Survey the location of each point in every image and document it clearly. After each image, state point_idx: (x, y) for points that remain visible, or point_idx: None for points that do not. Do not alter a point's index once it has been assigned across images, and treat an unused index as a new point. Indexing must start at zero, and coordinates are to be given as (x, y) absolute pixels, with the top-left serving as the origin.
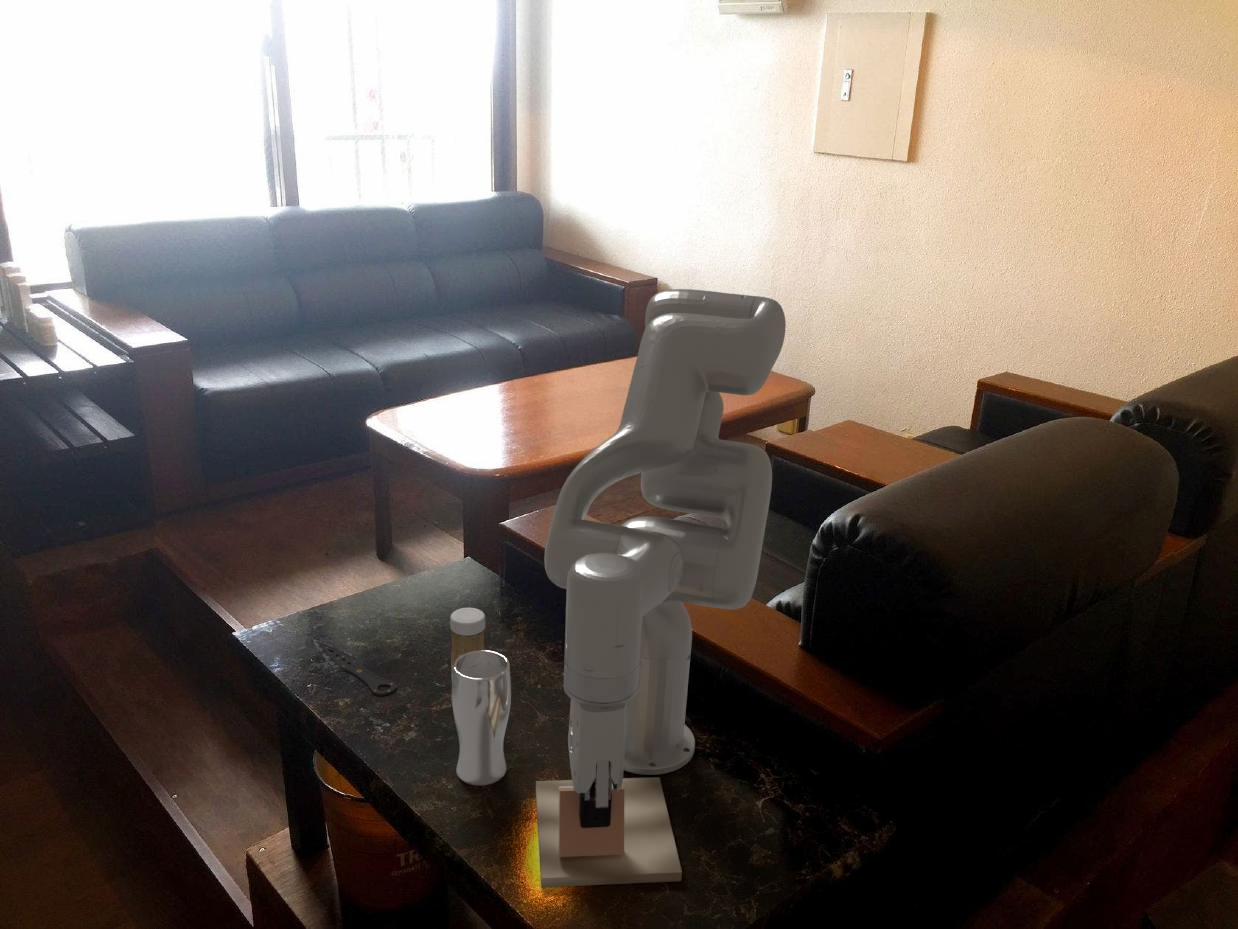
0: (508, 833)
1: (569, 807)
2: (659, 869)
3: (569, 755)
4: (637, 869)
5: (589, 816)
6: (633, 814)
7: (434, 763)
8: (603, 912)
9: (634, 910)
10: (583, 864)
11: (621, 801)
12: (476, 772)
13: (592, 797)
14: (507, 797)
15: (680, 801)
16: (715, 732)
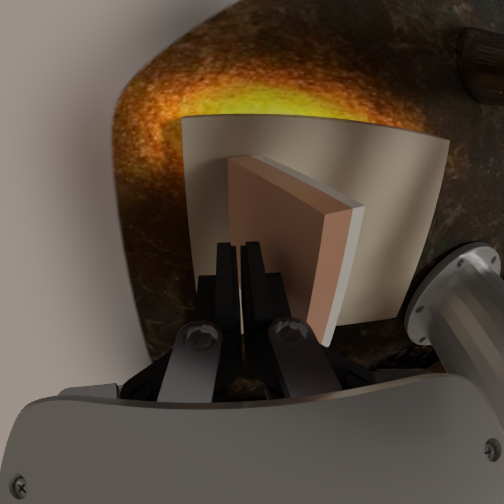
0: (344, 63)
1: (287, 222)
2: None
3: (340, 410)
4: None
5: (197, 292)
6: None
7: (492, 11)
8: (131, 223)
9: (141, 266)
10: (219, 202)
11: None
12: (476, 47)
13: (124, 388)
14: (431, 84)
15: (354, 328)
16: (434, 350)
